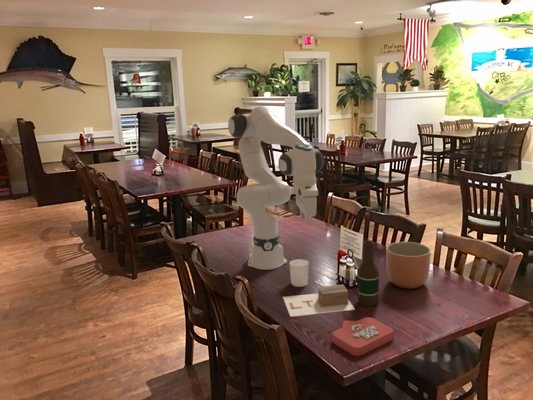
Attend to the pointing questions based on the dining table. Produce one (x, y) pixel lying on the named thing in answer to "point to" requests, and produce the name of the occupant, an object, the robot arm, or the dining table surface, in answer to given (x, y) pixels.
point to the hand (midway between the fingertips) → (305, 221)
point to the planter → (408, 264)
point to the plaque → (362, 335)
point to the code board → (311, 305)
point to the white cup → (299, 272)
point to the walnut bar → (333, 295)
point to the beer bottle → (368, 278)
